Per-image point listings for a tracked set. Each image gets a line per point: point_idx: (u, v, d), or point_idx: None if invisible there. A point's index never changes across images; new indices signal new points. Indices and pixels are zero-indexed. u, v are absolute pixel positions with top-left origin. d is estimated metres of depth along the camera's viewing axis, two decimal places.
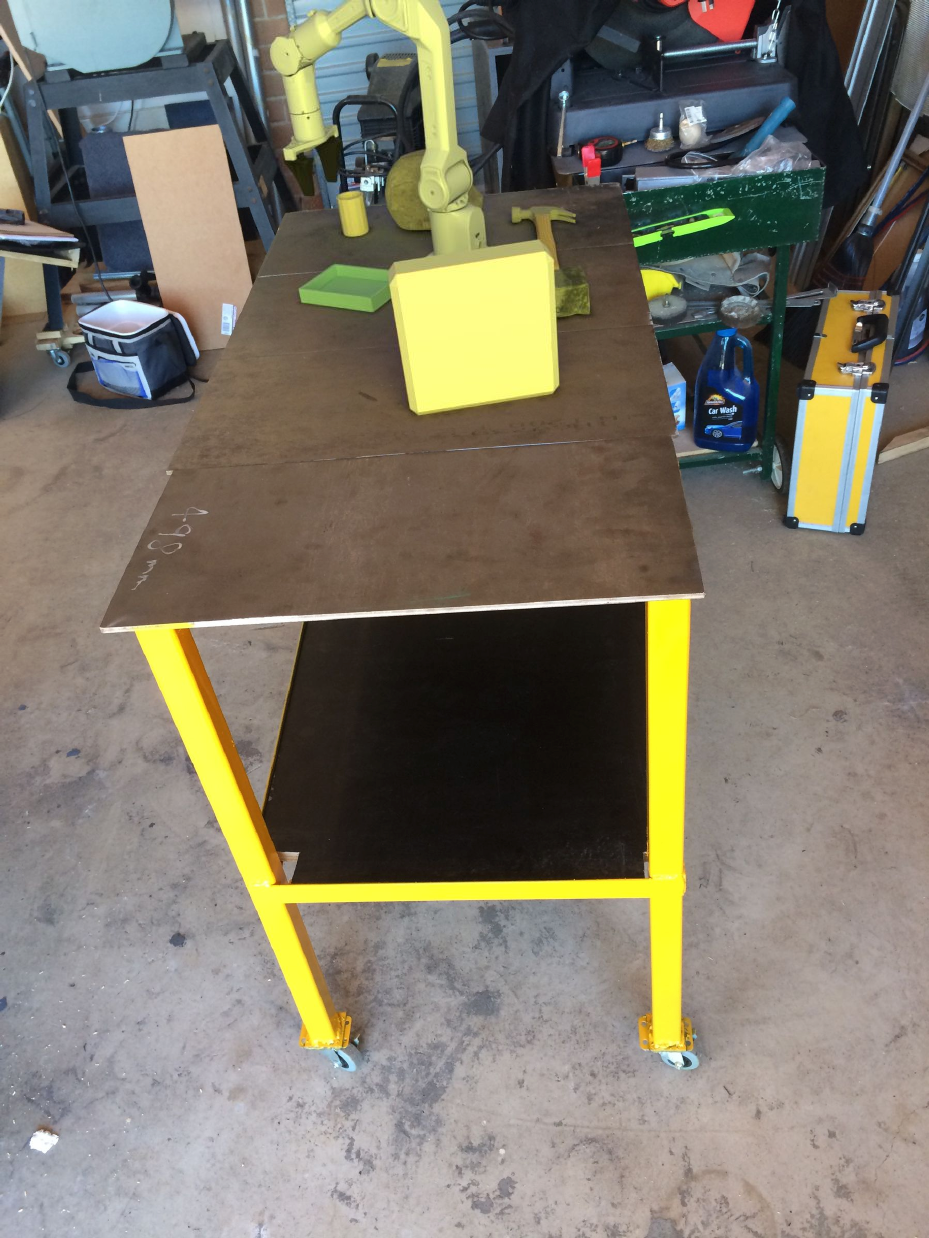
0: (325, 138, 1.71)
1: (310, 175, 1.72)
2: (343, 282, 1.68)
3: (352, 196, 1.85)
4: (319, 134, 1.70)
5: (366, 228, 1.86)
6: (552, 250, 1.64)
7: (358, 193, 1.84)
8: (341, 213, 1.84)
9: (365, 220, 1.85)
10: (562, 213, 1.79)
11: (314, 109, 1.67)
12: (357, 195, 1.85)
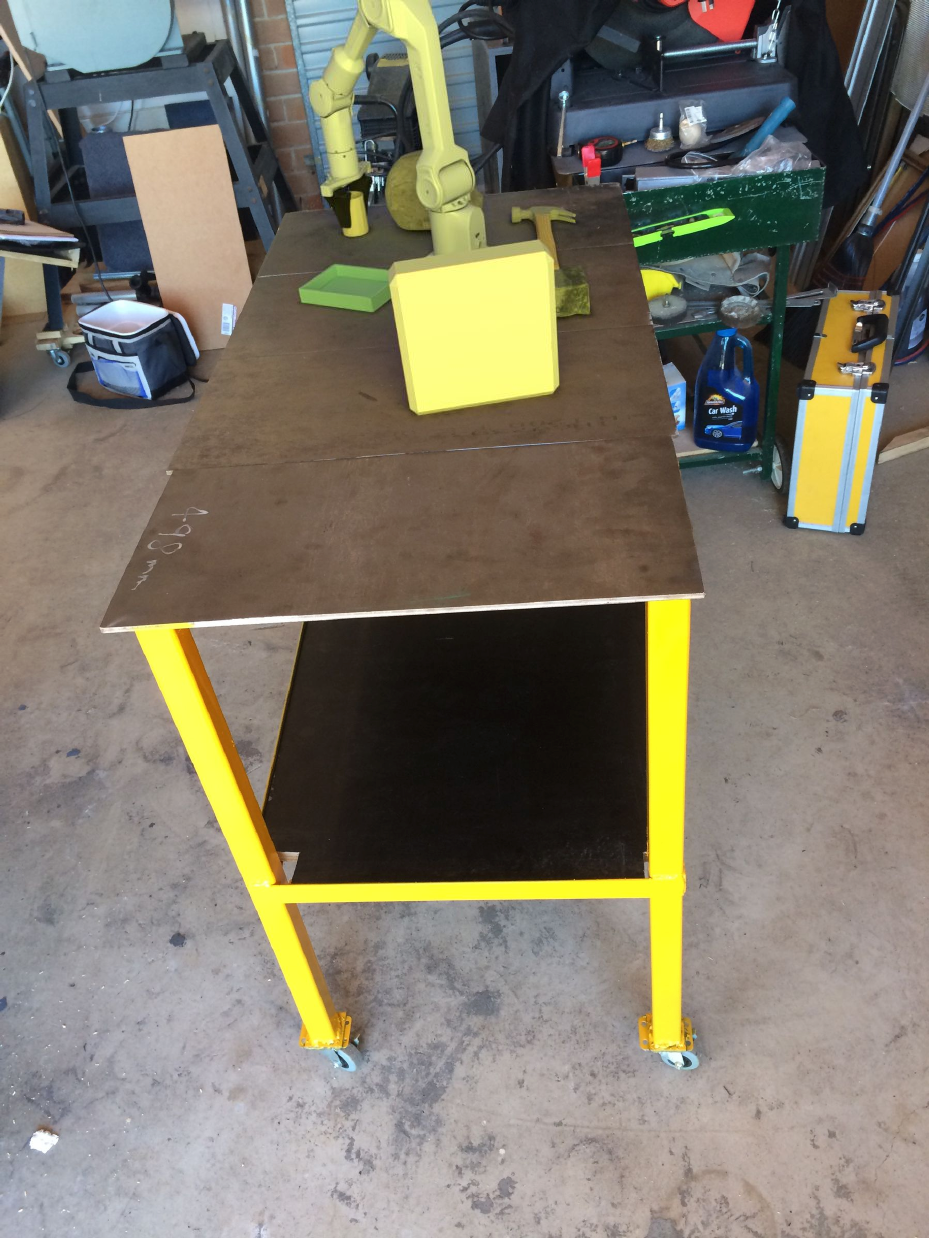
0: (360, 175, 1.80)
1: (348, 208, 1.81)
2: (343, 282, 1.68)
3: (352, 196, 1.85)
4: (354, 171, 1.78)
5: (366, 228, 1.86)
6: (552, 250, 1.64)
7: (358, 193, 1.84)
8: None
9: (365, 220, 1.85)
10: (562, 213, 1.79)
11: (347, 149, 1.75)
12: (357, 195, 1.85)
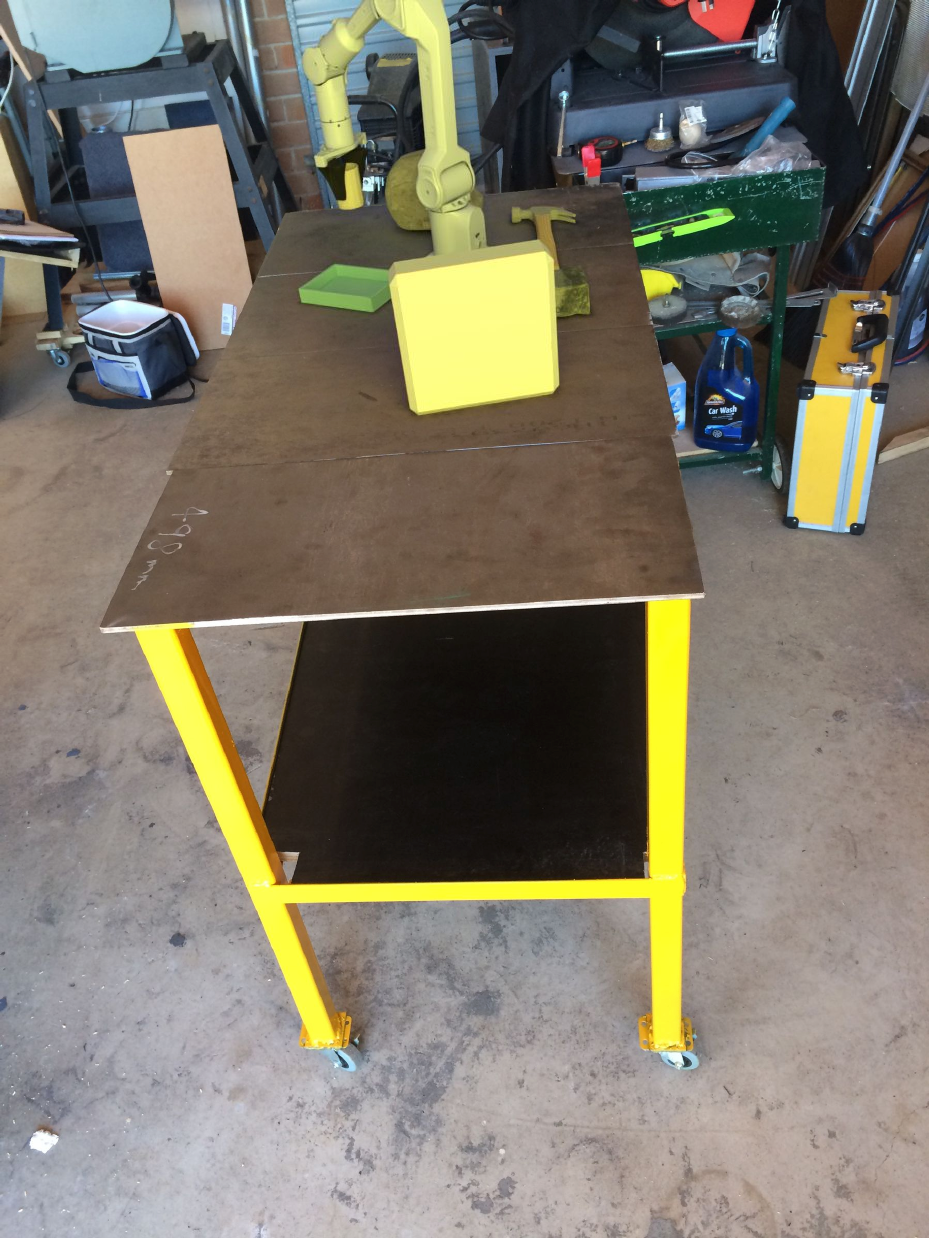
0: (355, 145, 1.76)
1: (342, 180, 1.77)
2: (343, 282, 1.68)
3: (347, 168, 1.82)
4: (349, 142, 1.75)
5: (361, 201, 1.82)
6: (552, 250, 1.64)
7: (353, 165, 1.81)
8: None
9: (360, 193, 1.81)
10: (562, 213, 1.79)
11: (342, 118, 1.72)
12: (352, 167, 1.81)
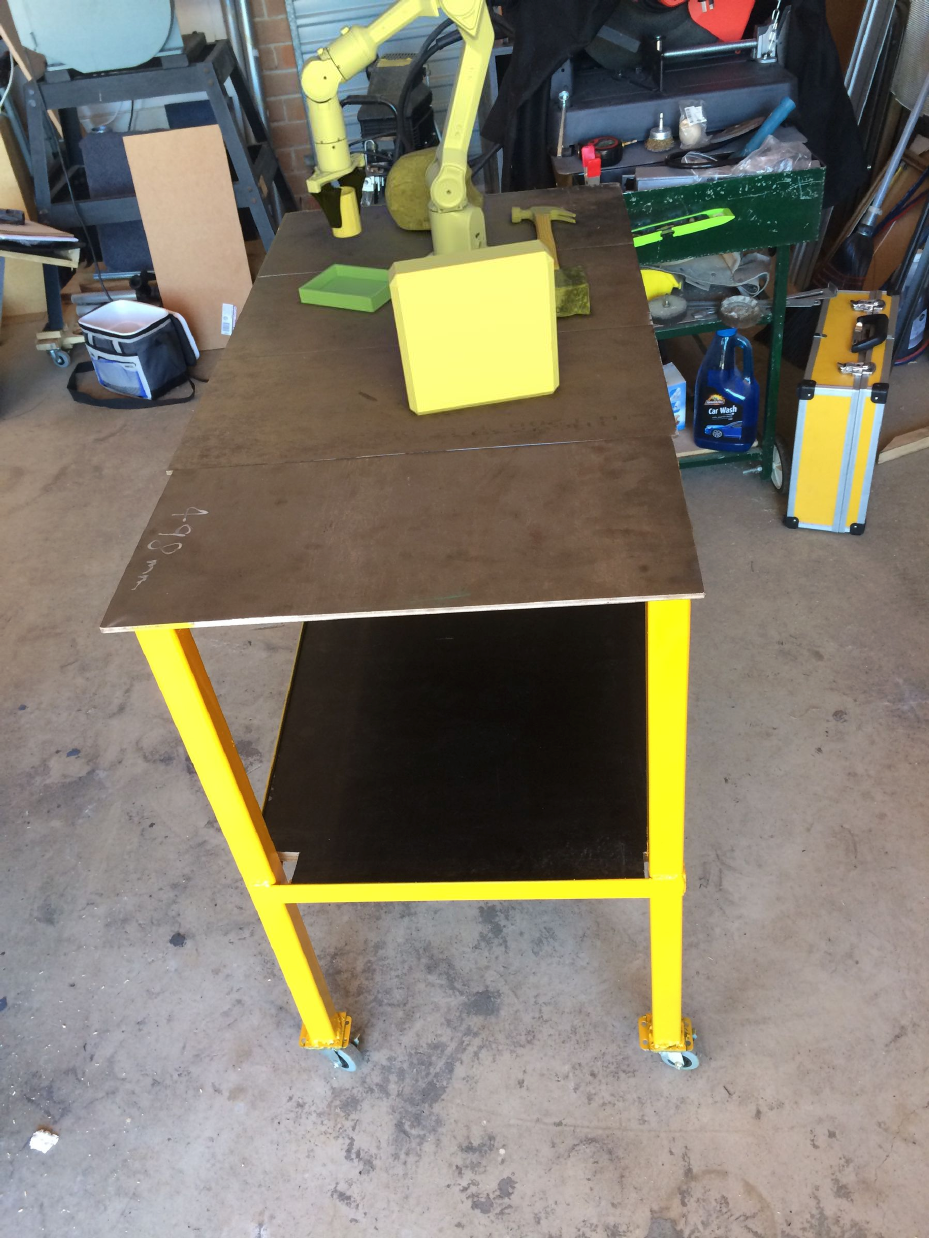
0: (351, 168, 1.60)
1: (338, 206, 1.61)
2: (343, 282, 1.68)
3: (343, 192, 1.66)
4: (345, 164, 1.59)
5: (358, 228, 1.66)
6: (552, 250, 1.64)
7: (349, 189, 1.65)
8: None
9: (357, 219, 1.65)
10: (562, 213, 1.79)
11: (345, 135, 1.57)
12: (348, 191, 1.65)
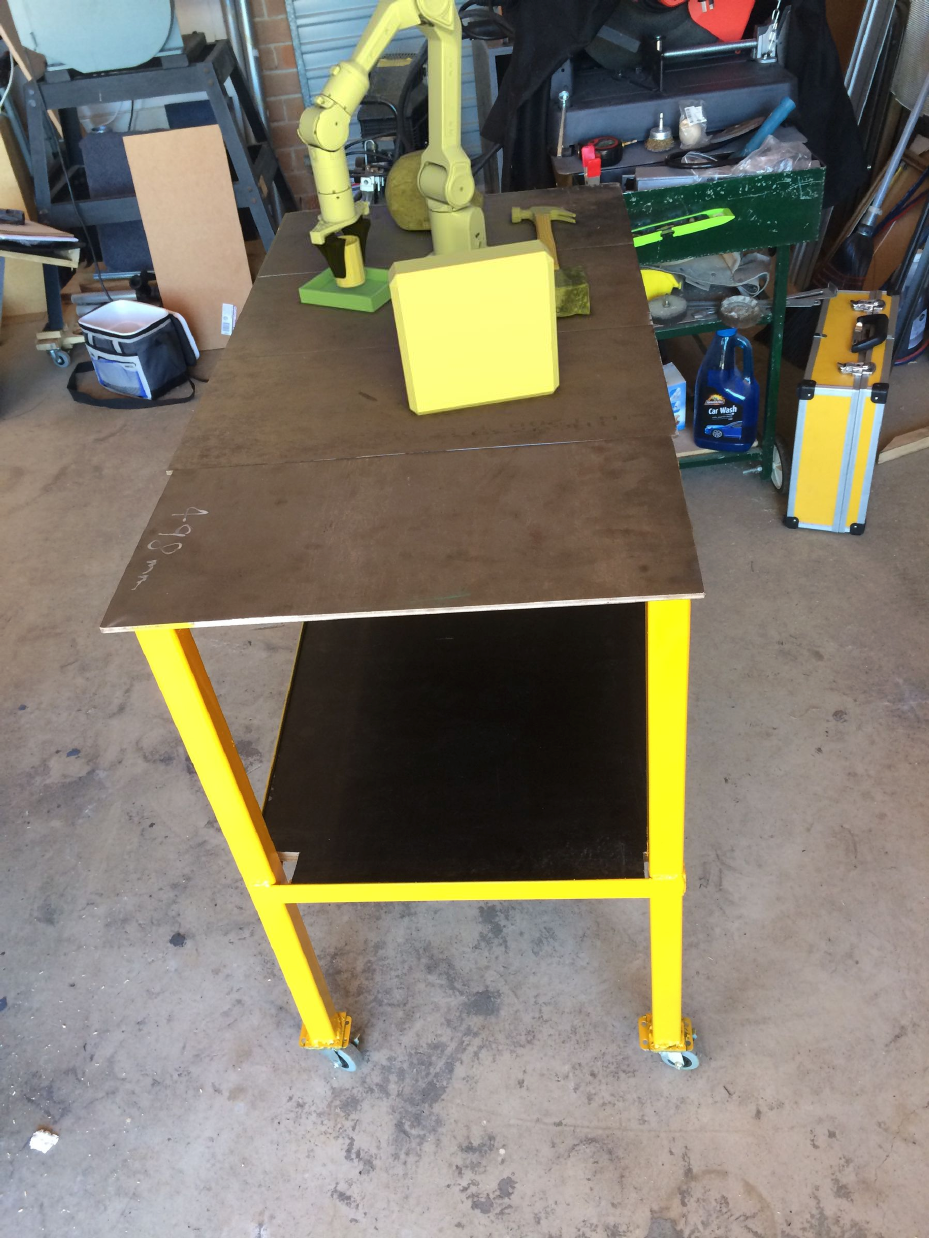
0: (356, 218, 1.55)
1: (342, 256, 1.56)
2: None
3: (346, 241, 1.61)
4: (349, 214, 1.54)
5: (363, 278, 1.61)
6: (552, 250, 1.64)
7: (353, 238, 1.60)
8: None
9: (361, 269, 1.61)
10: (562, 213, 1.79)
11: None
12: (352, 240, 1.60)
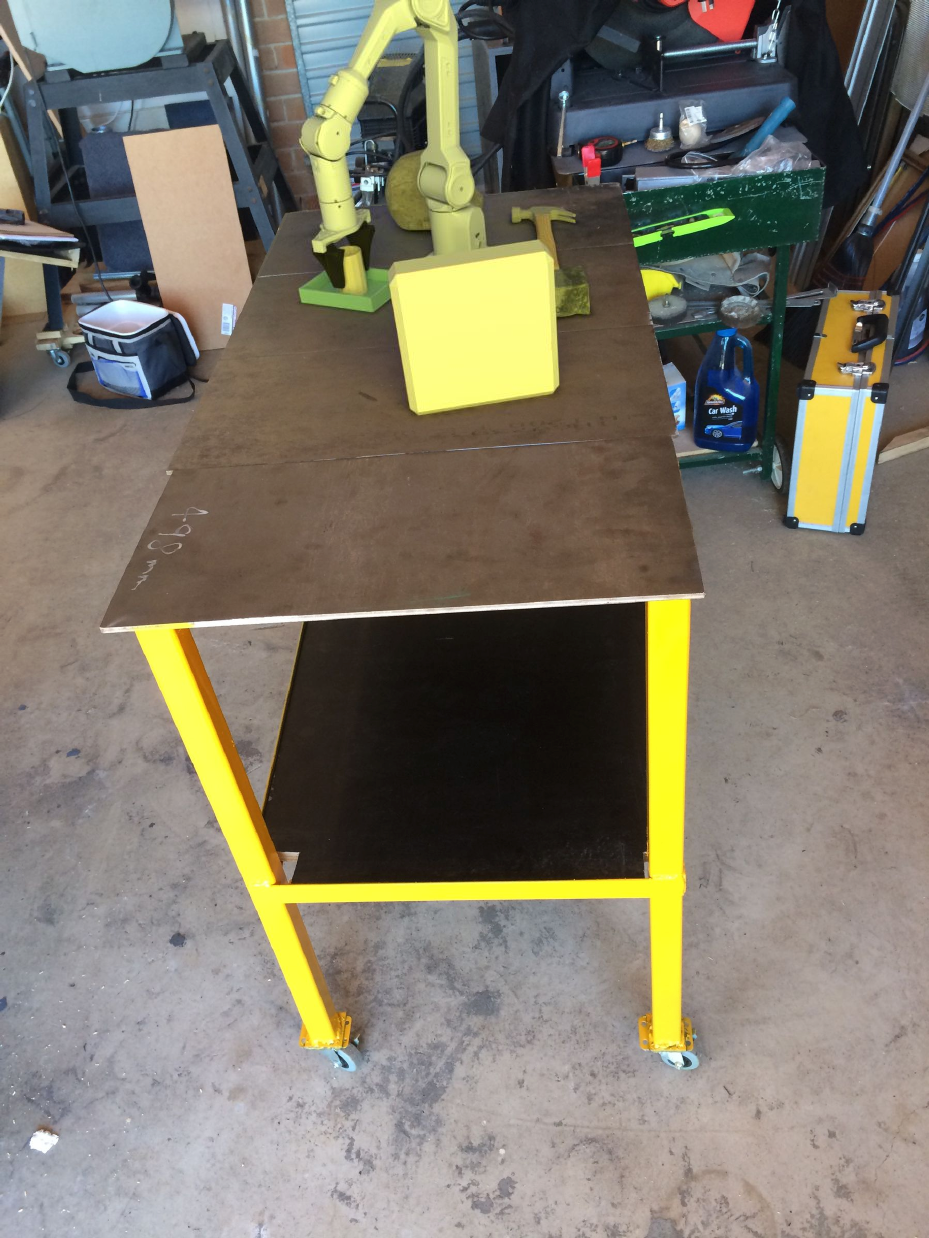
0: (357, 227, 1.56)
1: (341, 267, 1.57)
2: None
3: (348, 251, 1.62)
4: (351, 223, 1.55)
5: (364, 288, 1.63)
6: (552, 250, 1.64)
7: (355, 248, 1.61)
8: None
9: (363, 279, 1.62)
10: (562, 213, 1.79)
11: None
12: (354, 250, 1.61)
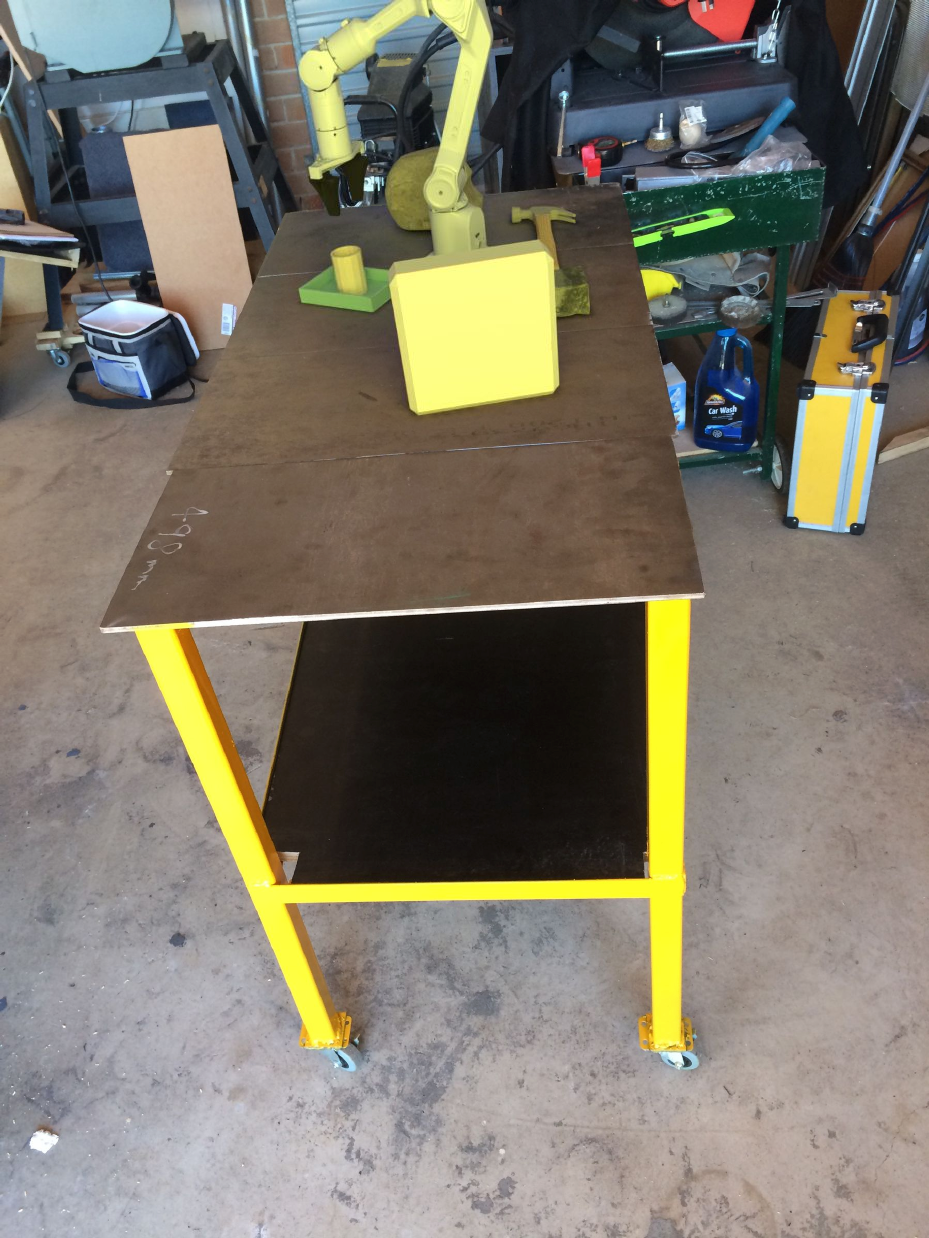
0: (352, 155, 1.64)
1: (336, 194, 1.64)
2: None
3: (348, 251, 1.62)
4: (346, 151, 1.62)
5: (364, 288, 1.63)
6: (552, 250, 1.64)
7: (355, 248, 1.61)
8: (336, 271, 1.60)
9: (363, 279, 1.62)
10: (562, 213, 1.79)
11: (344, 124, 1.60)
12: (354, 250, 1.61)
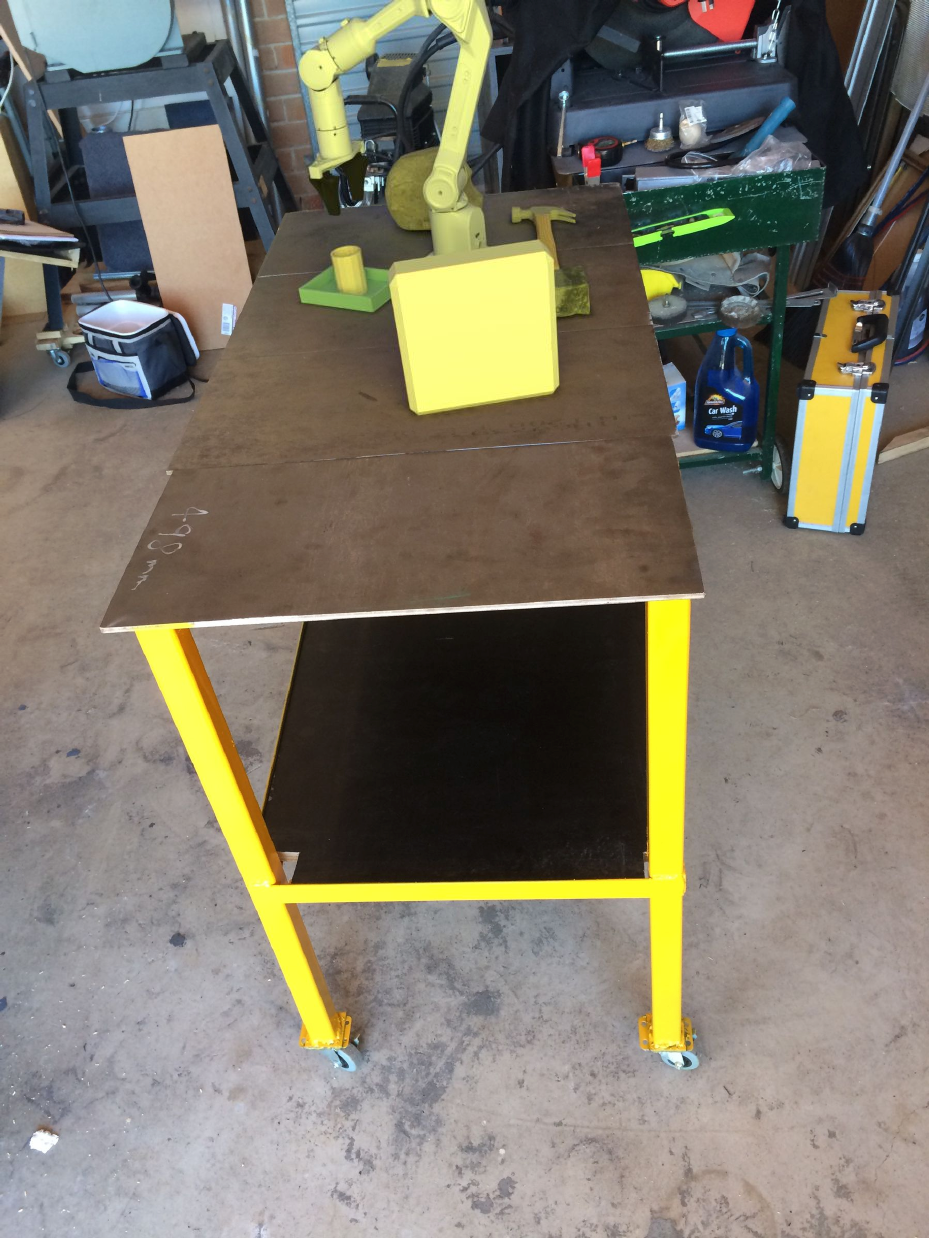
0: (352, 155, 1.64)
1: (336, 194, 1.65)
2: None
3: (348, 251, 1.62)
4: (346, 151, 1.63)
5: (364, 288, 1.63)
6: (552, 250, 1.64)
7: (355, 248, 1.61)
8: (336, 271, 1.60)
9: (363, 279, 1.62)
10: (562, 213, 1.79)
11: (344, 124, 1.60)
12: (354, 250, 1.61)
